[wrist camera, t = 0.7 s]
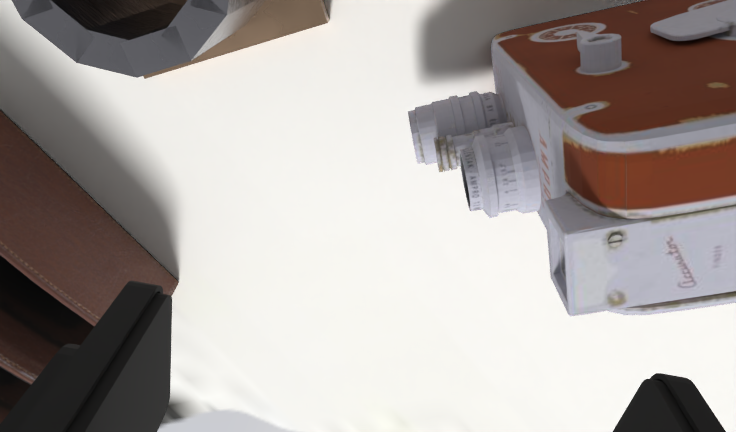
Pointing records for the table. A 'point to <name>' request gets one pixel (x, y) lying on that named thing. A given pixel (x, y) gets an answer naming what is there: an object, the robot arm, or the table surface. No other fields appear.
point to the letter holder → (54, 262)
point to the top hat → (164, 29)
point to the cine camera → (609, 151)
